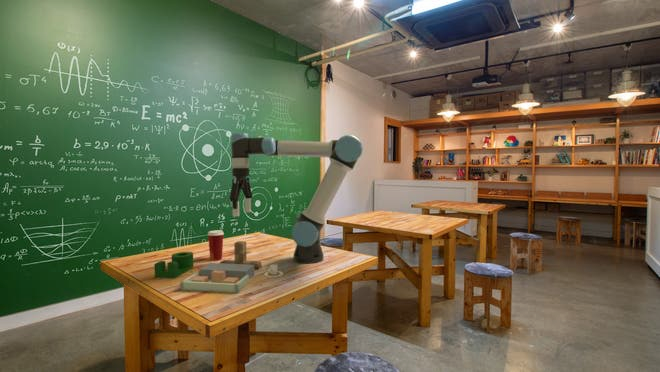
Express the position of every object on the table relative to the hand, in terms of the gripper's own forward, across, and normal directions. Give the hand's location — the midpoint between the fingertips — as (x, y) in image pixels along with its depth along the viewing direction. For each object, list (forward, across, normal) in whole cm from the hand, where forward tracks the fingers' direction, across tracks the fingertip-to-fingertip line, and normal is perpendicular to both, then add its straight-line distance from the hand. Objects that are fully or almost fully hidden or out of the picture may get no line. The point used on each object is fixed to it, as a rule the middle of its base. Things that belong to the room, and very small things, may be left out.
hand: (242, 214), depth 148 cm
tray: (+24, +25, -1) cm, 35 cm away
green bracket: (+24, +9, -27) cm, 38 cm away
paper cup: (+24, -10, -19) cm, 33 cm away
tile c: (+21, +26, -7) cm, 34 cm away
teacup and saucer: (+26, +6, +19) cm, 32 cm away
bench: (+24, +15, -1) cm, 29 cm away
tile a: (+22, +25, +5) cm, 34 cm away
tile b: (+22, +22, -1) cm, 31 cm away
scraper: (+25, +2, -1) cm, 25 cm away
